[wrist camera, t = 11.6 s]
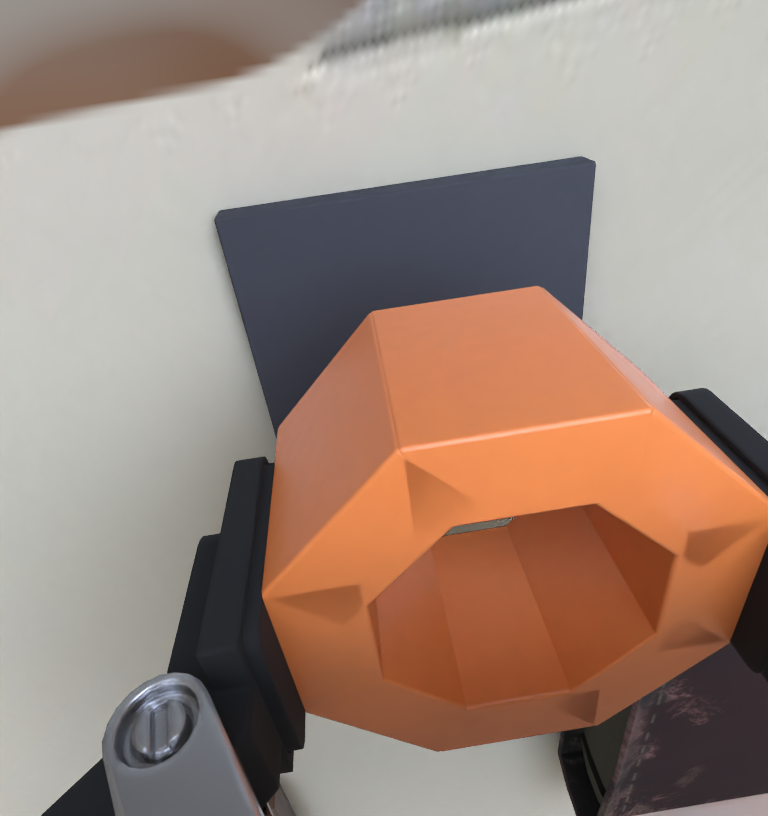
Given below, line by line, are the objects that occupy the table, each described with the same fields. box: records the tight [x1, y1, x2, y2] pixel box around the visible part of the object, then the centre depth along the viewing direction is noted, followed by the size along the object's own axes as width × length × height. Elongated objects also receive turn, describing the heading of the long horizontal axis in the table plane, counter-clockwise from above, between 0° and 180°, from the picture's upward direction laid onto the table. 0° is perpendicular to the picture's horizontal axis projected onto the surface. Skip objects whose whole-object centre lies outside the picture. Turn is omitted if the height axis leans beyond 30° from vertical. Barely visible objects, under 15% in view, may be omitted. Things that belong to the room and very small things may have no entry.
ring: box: [262, 286, 768, 752], centre depth 10 cm, size 7×7×4 cm
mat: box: [214, 156, 596, 439], centre depth 16 cm, size 9×9×1 cm
